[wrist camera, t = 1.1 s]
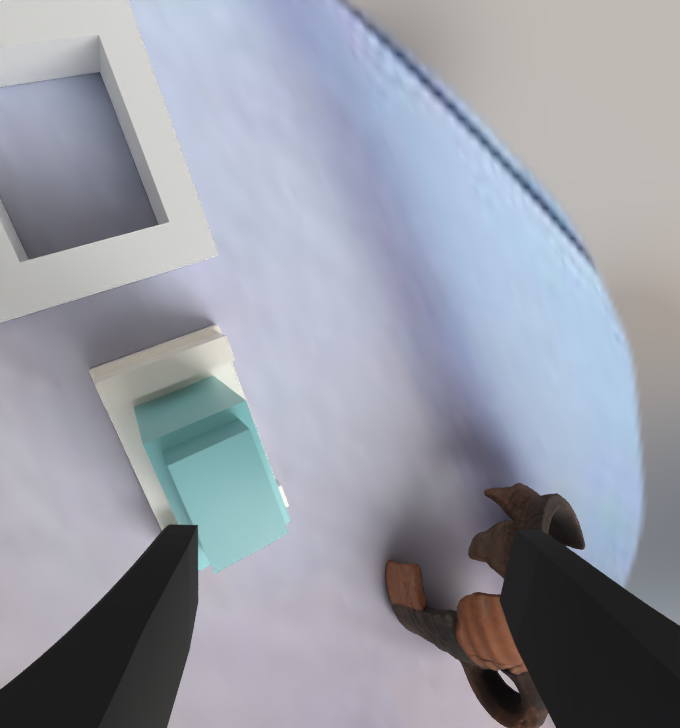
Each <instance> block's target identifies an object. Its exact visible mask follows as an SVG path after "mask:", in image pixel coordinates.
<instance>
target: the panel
mask: <svg viewBox="0 0 680 728" xmlns="http://www.w3.org/2000/svg"><path fill="white" fill-rule="evenodd" d="M98 72H100V73H101V76H102V79H103V81H104V84H105V87H106V89H107V92H108V94H109V97H110V100H111V102H112V105H113V107H114V110H115V113H116V115H117V118H118V120H119V123H120V126H121V128H122V131H123V133H124V136H125V139H126V141H127V144H128V146H129V149H130V152H131V154H132V157H133V159H134V162H135V165H136V167H137V170H138V172H139V175H140V178H141V180H142V183H143V185H144V188H145V191H146V193H147V196H148V198H149V201H150V204H151V206H152V209H153V212H154V214H155V217H156V219H157V222H158V225H156V226H153V227H149V228H145V229H141V230H138V231H134V232H130V233H127V234H123V235H119V236H116V237H112V238H108V239H104V240H101V241H97V242H93V243H90V244H86V245H82V246H78V247H75V248H71V249H67V250H64V251H60V252H56V253H52V254H49V255H45V256H41V257H38V258H34V259H30V260H29V259H28V257H27V255H26V253H25V250H24V248H23V246H22V244H21V242H20V240H19V237H18V235H17V233H16V231H15V229H14V227H13V225H12V222H11V220H10V218H9V216H8V214H7V212H6V209H5V207H4V205H3V203H2V201H1V199H0V323H2V322H5V321H8V320H12V319H15V318H18V317H21V316H25V315H28V314H31V313H35V312H38V311H41V310H44V309H48V308H51V307H54V306H57V305H61V304H64V303H67V302H71V301H74V300H77V299H80V298H84V297H87V296H90V295H93V294H97V293H100V292H103V291H106V290H110V289H113V288H116V287H120V286H123V285H126V284H129V283H133V282H136V281H139V280H142V279H146V278H149V277H152V276H156V275H159V274H162V273H165V272H169V271H172V270H175V269H178V268H182V267H185V266H188V265H191V264H195V263H198V262H201V261H205V260H207V259H210V258H213V257H216V256H219V254H218V251H217V248H216V245H215V242H214V240H213V237H212V234H211V231H210V228H209V226H208V223H207V220H206V217H205V214H204V212H203V209H202V206H201V203H200V200H199V198H198V195H197V192H196V189H195V186H194V184H193V181H192V178H191V175H190V172H189V170H188V167H187V164H186V161H185V158H184V156H183V153H182V150H181V147H180V144H179V142H178V139H177V136H176V133H175V130H174V128H173V125H172V122H171V119H170V116H169V114H168V111H167V108H166V105H165V102H164V100H163V97H162V94H161V91H160V88H159V86H158V83H157V80H156V77H155V74H154V72H153V69H152V66H151V63H150V60H149V58H148V55H147V52H146V49H145V46H144V44H143V41H142V38H141V35H140V32H139V30H138V27H137V24H136V21H135V18H134V16H133V13H132V10H131V7H130V4H129V2H128V0H0V87H5V86H11V85H18V84H25V83H31V82H38V81H44V80H51V79H58V78H64V77H71V76H78V75H84V74H91V73H98Z"/></svg>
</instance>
